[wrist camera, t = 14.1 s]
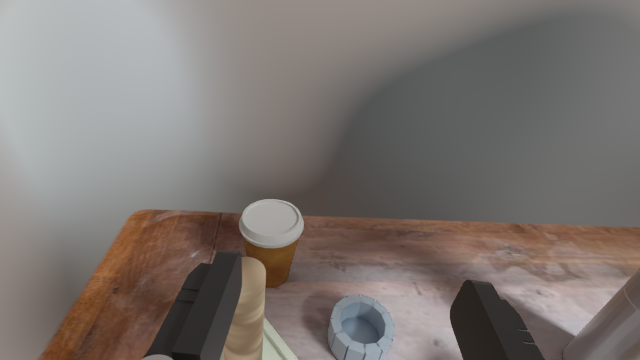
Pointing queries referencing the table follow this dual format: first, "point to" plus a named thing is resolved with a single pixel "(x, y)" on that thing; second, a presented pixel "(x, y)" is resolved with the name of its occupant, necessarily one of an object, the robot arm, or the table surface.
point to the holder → (360, 329)
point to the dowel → (248, 315)
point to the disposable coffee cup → (272, 236)
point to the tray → (272, 345)
